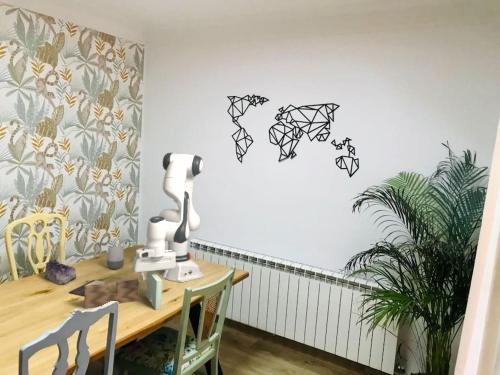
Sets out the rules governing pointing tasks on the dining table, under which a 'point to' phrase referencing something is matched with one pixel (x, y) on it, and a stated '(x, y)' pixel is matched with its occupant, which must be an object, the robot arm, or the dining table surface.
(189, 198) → the robot arm
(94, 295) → the walnut board
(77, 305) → the dining table surface
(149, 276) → the sage plate
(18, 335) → the dining table surface
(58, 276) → the geode
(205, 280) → the dining table surface
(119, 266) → the smart speaker
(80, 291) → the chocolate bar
